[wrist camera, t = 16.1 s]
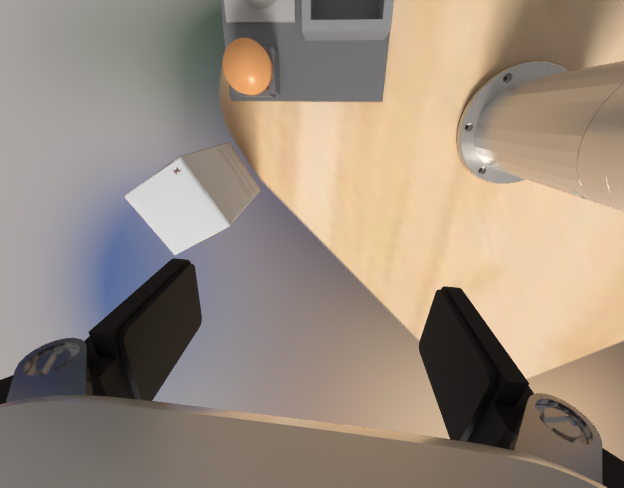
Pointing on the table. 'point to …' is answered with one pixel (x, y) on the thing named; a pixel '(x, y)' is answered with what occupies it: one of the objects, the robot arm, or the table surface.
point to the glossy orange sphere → (247, 66)
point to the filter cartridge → (260, 3)
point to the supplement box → (195, 196)
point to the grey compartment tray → (316, 47)
